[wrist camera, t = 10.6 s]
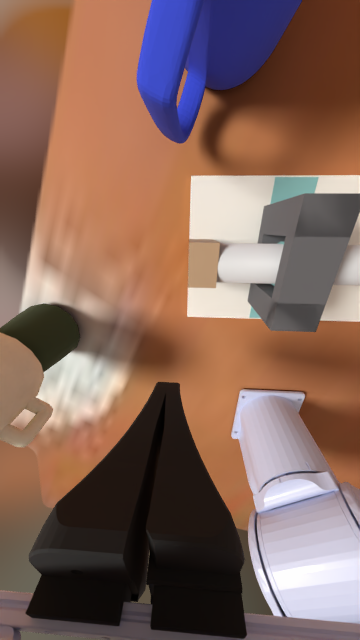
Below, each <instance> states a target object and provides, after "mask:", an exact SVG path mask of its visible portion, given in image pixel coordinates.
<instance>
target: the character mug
mask: <svg viewBox="0 0 360 640" xmlns="http://www.w3.org/2000/svg"><path fill="white" fill-rule="evenodd" d="M79 339H80V335H79V330H78V325H77V324H76V322H75V321H74V319H73V318H72V316H71V315H70V314H69V313H67V312H66V311H64V310H63V309H61V308H60V307H58V306H53V305H48V304H40V305H35V306H31V307H29V308H28V309H26V310H25V311H23V312H22V313H20V314H18V315H17V316H16V317H15V318H13V319H12V320H10V321H9V322H8V323H6V324H5V325H4V326H2V327H1V328H0V440H2V441H4V442H7V443H9V444H11V445H13V446H16V447H26V446H27V445H28V444H29V443H31V442H32V441H33V439H34V438H35V437H36V435H37V434H38V433H39V431H40V430H41V429H42V427H43V426H44V425H45V423H46V422H47V421H48V419H49V418H50V417H51V415H52V412H53V408H52V407H51V406H50V405H49V404H48V403H46V402H44V401H42V400H40V399H38V398H36V396H37V395H38V392H39V389H40V387H41V384H42V381H43V378H44V374H43V372H45V371H46V370H47V369H49V368H50V367H51V366H53V365H54V364H56V363H57V362H58V361H60V360H61V359H62V358H63V357H65V356H66V355H67V354H69V353H70V352H71V351H72V350H73V349H75V348H76V347H77V345H78V342H79ZM24 409H27V410H29V411H31V412H33V413H35V414H36V415H35V416H34V418H33V419H32V420H31V421H30V422H29V424H28V425H27V426H26V427H25V428H24V429H23V430H21V429H19V428H17V427H15V426H12V425H10V424H11V423H12V422H13V420H14V419H15V418H16V417H17V416H18V415H19V414H20V413H21V412H22V411H23V410H24Z"/></svg>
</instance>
